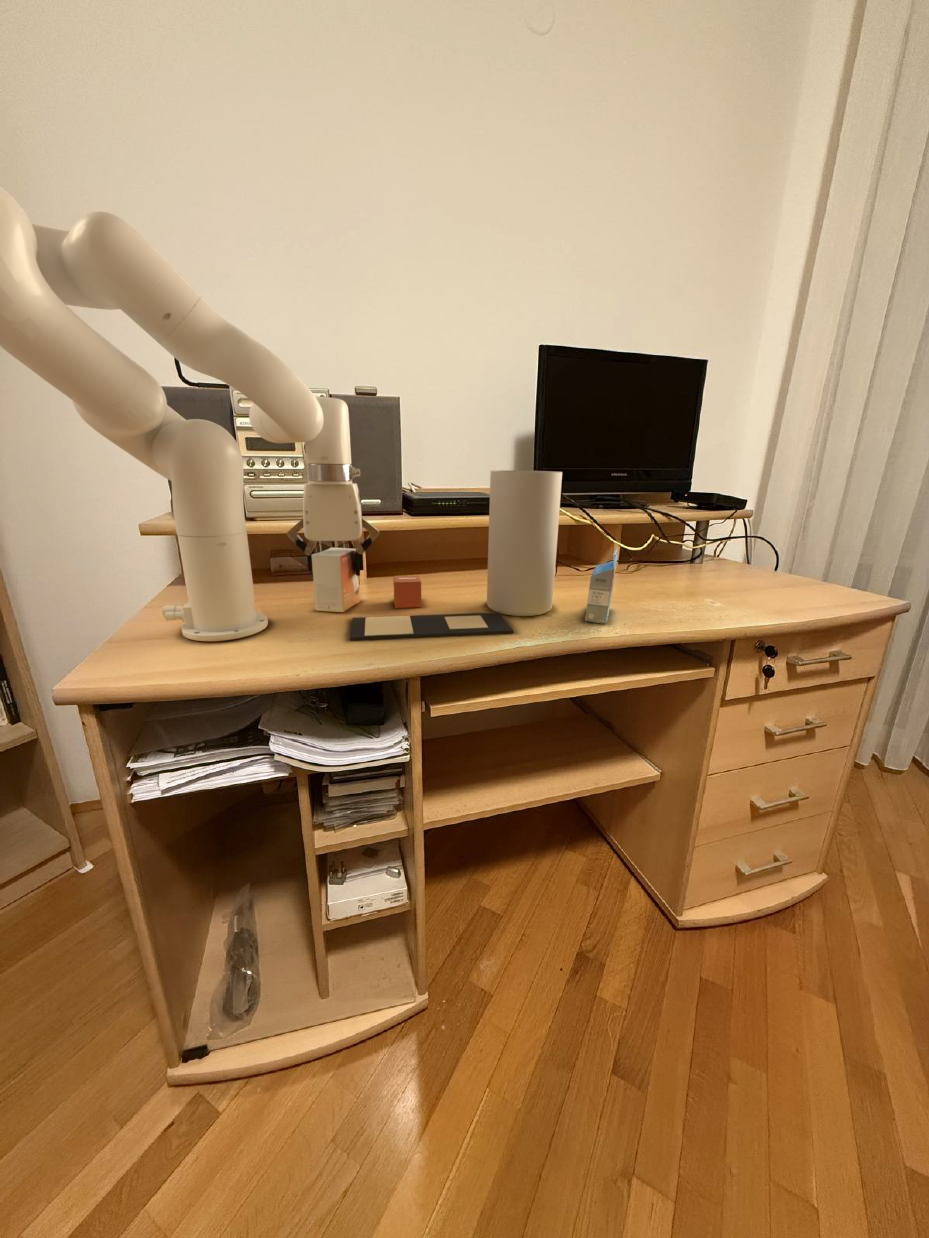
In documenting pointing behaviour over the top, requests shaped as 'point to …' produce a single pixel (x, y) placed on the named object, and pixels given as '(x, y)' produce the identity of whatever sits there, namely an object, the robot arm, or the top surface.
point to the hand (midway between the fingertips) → (336, 574)
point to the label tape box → (601, 591)
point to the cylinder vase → (522, 541)
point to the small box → (335, 579)
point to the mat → (428, 626)
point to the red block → (407, 591)
